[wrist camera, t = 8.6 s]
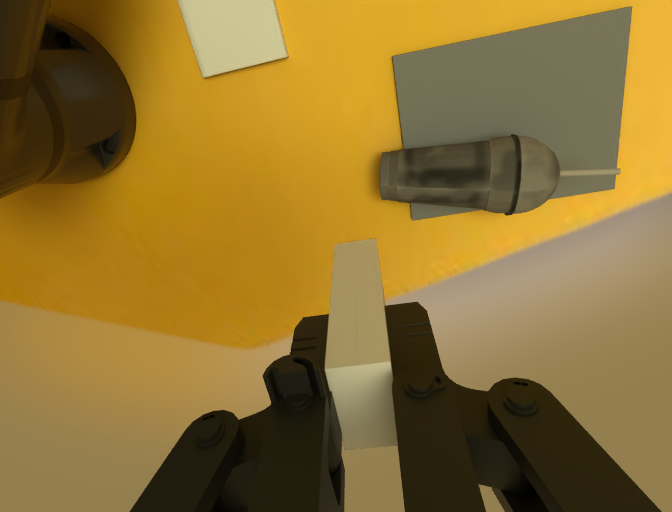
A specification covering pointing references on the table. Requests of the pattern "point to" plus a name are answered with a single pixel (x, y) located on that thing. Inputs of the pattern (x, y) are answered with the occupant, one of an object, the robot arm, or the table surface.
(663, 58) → the table surface
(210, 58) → the external hard drive
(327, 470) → the robot arm
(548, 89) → the mat
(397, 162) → the beverage cup
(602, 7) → the table surface
